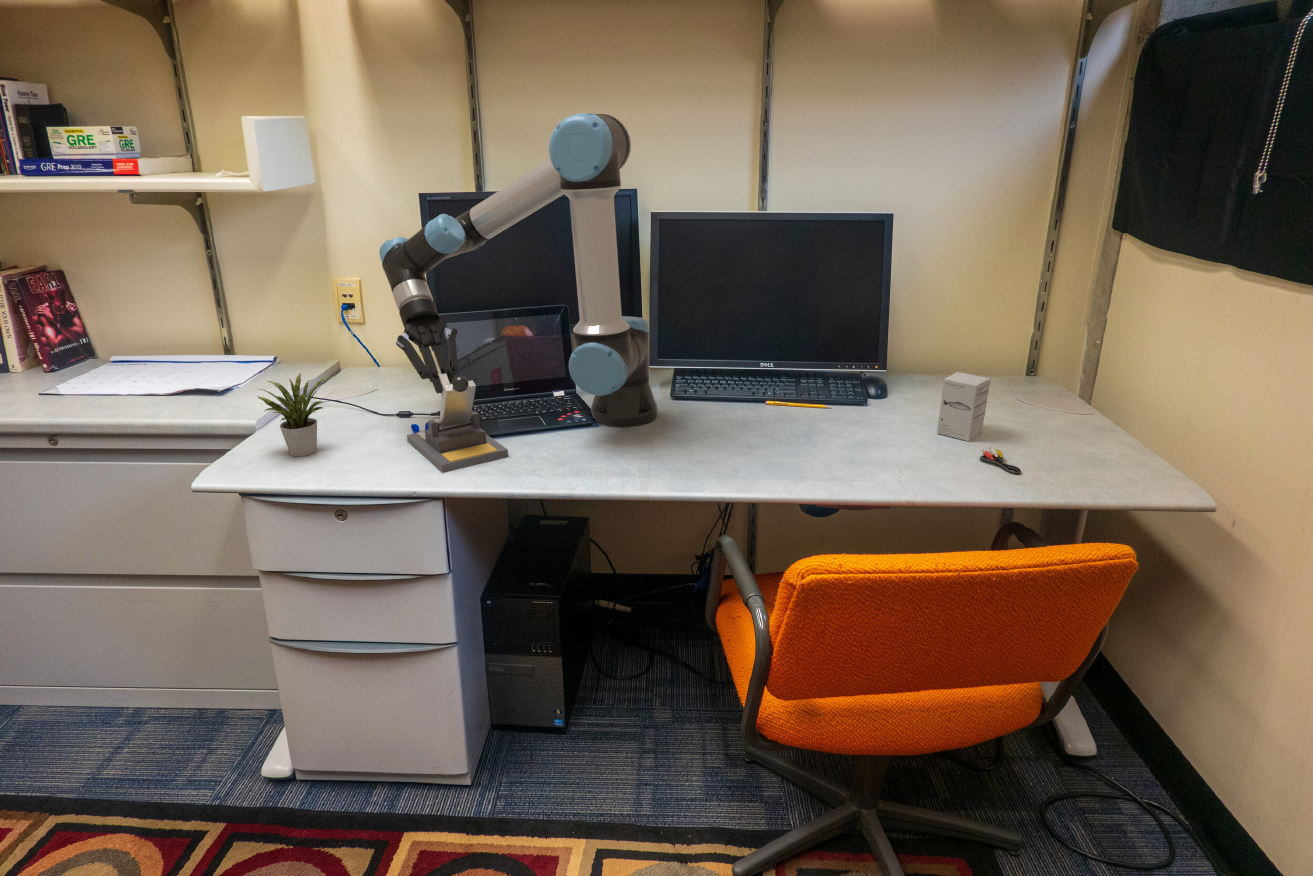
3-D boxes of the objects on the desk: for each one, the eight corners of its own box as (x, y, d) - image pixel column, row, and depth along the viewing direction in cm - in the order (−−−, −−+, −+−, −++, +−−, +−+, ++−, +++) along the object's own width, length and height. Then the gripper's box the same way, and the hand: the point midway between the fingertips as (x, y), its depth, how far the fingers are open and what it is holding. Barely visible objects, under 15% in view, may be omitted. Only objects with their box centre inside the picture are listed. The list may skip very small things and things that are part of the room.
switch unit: (407, 441, 174) (403, 410, 172) (469, 428, 182) (466, 398, 179) (442, 472, 159) (438, 438, 156) (508, 456, 166) (505, 424, 164)
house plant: (327, 432, 180) (315, 360, 174) (356, 448, 170) (344, 373, 165) (260, 449, 170) (245, 374, 164) (287, 468, 161) (272, 389, 155)
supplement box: (935, 434, 177) (942, 378, 172) (950, 425, 182) (957, 370, 177) (968, 442, 172) (977, 385, 167) (983, 433, 177) (991, 377, 172)
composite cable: (1024, 475, 157) (1026, 464, 156) (1001, 477, 156) (1002, 465, 155) (995, 456, 166) (997, 445, 165) (973, 458, 165) (975, 446, 164)
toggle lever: (434, 425, 168) (440, 375, 158) (466, 418, 172) (474, 369, 162) (440, 436, 166) (446, 386, 157) (472, 429, 170) (481, 380, 160)
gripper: (442, 312, 178) (477, 407, 172) (382, 319, 171) (416, 419, 165) (450, 293, 172) (486, 391, 166) (388, 299, 165) (423, 402, 159)
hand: (451, 405), depth 166 cm, fingers closed
